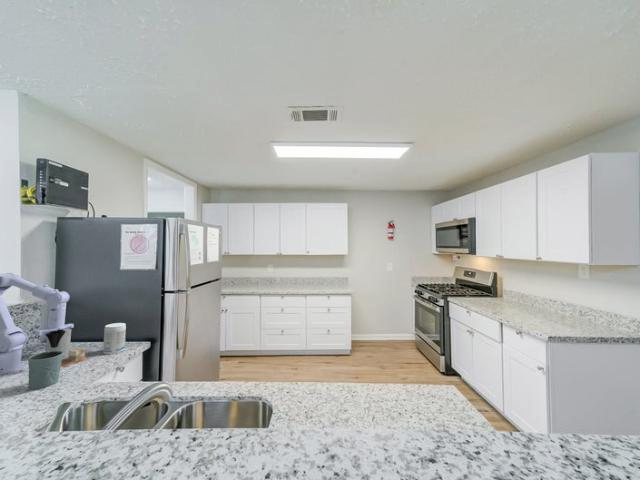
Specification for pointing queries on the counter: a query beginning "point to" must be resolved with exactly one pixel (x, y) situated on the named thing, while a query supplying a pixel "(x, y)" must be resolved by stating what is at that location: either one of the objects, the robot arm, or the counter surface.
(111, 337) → the supplement tub
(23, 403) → the counter surface
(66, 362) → the board
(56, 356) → the green plant pot
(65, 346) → the grey marbled cylinder
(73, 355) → the birch block
